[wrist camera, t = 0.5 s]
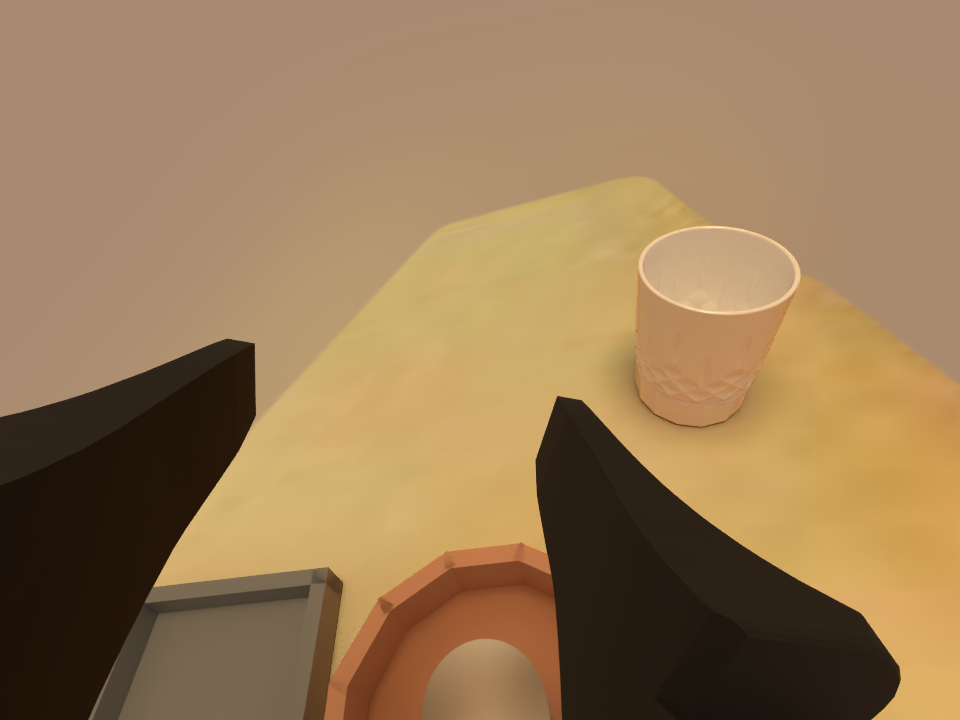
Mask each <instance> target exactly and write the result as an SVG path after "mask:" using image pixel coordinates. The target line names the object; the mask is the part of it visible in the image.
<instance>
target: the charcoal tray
mask: <svg viewBox="0 0 960 720" xmlns="http://www.w3.org/2000/svg"><path fill="white" fill-rule="evenodd" d="M342 585H343V582H342V581H341V580H340V579H339V578H338V577H337V576H336V575H335V574H334V573H333V572H332V571H331V570H330V569H329V567H327V568H318V569H309V570H301V571H292V572H283V573H274V574H266V575H257V576H248V577H239V578H231V579H222V580H213V581H204V582H195V583H187V584H178V585H169V586H160V587H153V588H152V589H151V591H150V593H149V595H148V597H147V599H146V601H145V603H144V605H143V607H142V609H141V611H140V613H139V615H138V617H137V619H136V621H135V623H134V625H133V627H132V629H131V631H130V633H129V634H128V636H127V638H126V641H125V643H124V645H123V647H122V649H121V651H120V653H119V655H118V657H117V659H116V661H115V664H114V666H113V668H112V670H111V672H110V674H109V676H108V678H107V680H106V682H105V685H104V687H103V689H102V691H101V693H100V695H99V697H98V699H97V702H96V704H95V706H94V708H93V711H92V713H91V715H90V717H89V720H323V719H324V712H325V705H326V698H327V691H328V684H329V677H330V670H331V663H332V656H333V649H334V642H335V634H336V627H337V620H338V613H339V606H340V599H341V592H342Z"/></svg>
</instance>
